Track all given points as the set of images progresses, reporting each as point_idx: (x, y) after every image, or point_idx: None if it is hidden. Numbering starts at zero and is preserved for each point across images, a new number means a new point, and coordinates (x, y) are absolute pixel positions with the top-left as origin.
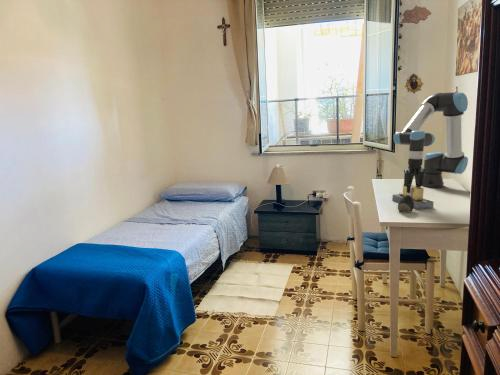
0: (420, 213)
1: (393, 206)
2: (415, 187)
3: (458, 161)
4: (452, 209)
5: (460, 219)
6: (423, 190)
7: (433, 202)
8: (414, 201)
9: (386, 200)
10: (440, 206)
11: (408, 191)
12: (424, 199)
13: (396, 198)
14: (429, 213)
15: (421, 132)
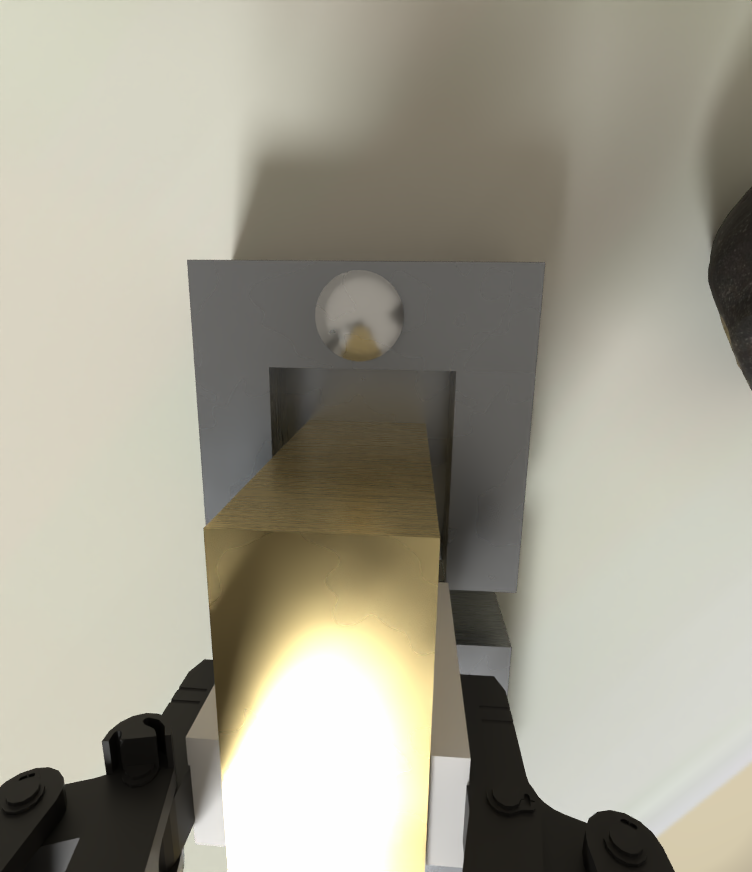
0: (669, 76)
1: (711, 574)
2: (360, 708)
3: None
4: (9, 57)
5: None
6: (230, 502)
7: (194, 262)
8: (500, 427)
9: None
10: (74, 283)
11: (502, 704)
12: (230, 459)
13: None
14: (532, 9)
15: None
